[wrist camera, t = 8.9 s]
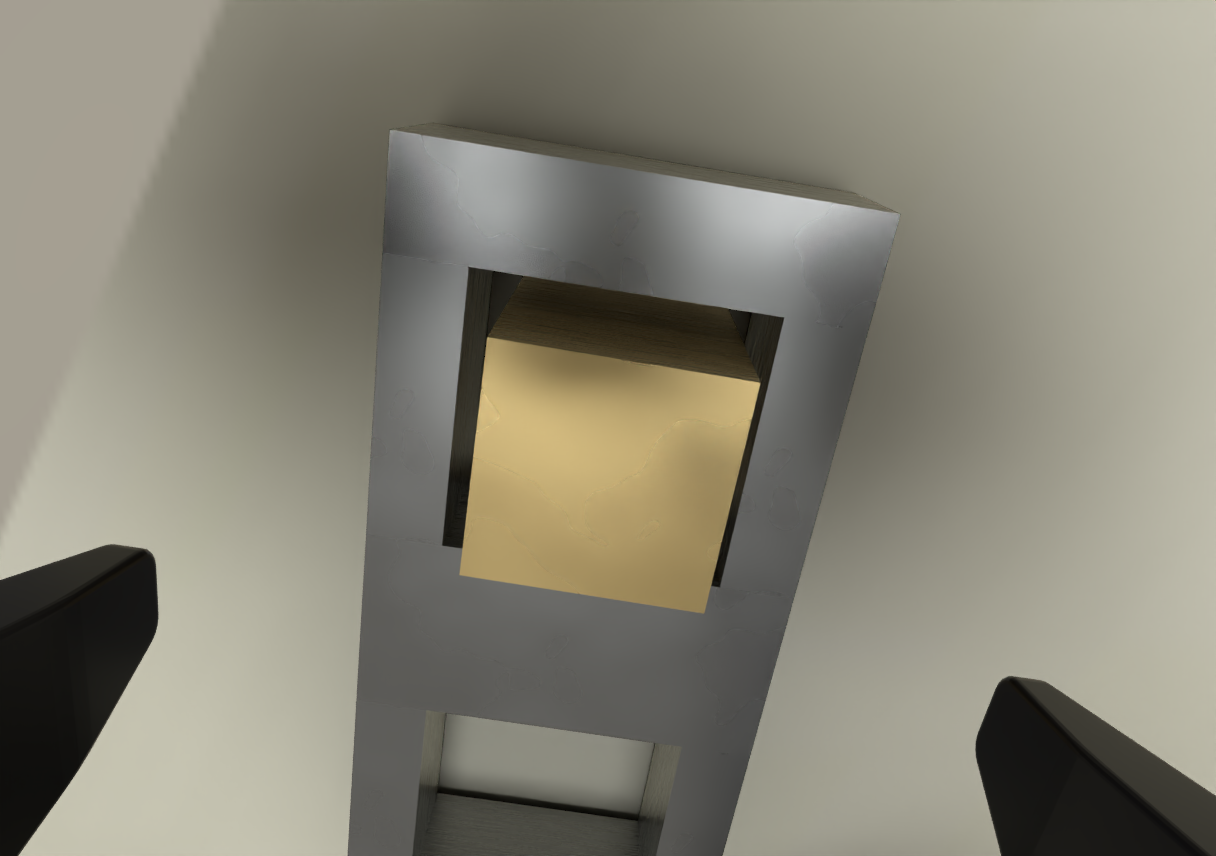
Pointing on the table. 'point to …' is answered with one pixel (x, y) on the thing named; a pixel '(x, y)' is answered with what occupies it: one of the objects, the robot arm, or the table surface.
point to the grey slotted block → (562, 621)
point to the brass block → (607, 444)
